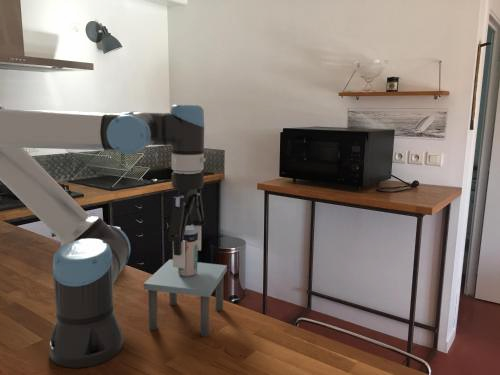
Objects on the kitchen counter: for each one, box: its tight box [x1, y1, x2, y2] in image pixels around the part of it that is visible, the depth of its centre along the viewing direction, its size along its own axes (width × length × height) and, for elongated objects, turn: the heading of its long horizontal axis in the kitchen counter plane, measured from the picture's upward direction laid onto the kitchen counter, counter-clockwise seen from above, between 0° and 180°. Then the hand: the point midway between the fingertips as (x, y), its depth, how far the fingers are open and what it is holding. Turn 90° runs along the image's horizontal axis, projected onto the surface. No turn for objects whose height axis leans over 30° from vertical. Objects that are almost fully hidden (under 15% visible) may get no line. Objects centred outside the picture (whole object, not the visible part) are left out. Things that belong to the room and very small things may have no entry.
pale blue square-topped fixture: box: [143, 259, 228, 338], centre depth 108 cm, size 16×16×12 cm
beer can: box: [178, 224, 199, 277], centre depth 106 cm, size 5×5×12 cm
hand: (187, 257), depth 106 cm, fingers open, 11 cm apart
